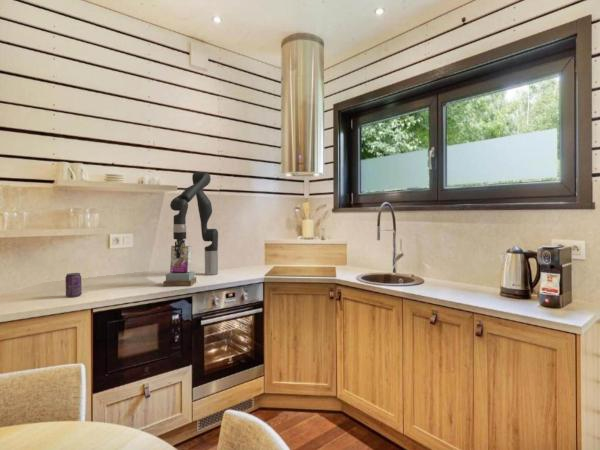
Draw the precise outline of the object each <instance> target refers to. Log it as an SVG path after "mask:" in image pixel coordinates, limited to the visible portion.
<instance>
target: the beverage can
mask: <svg viewBox="0 0 600 450" xmlns="http://www.w3.org/2000/svg"><path fill="white" fill-rule="evenodd" d="M82 292H83V291H82V275H81V273H80V272H71V273H66V275H65V296H66V297H68V298H76V297H80V296H81V295H82V294H83V293H82Z"/></svg>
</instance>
